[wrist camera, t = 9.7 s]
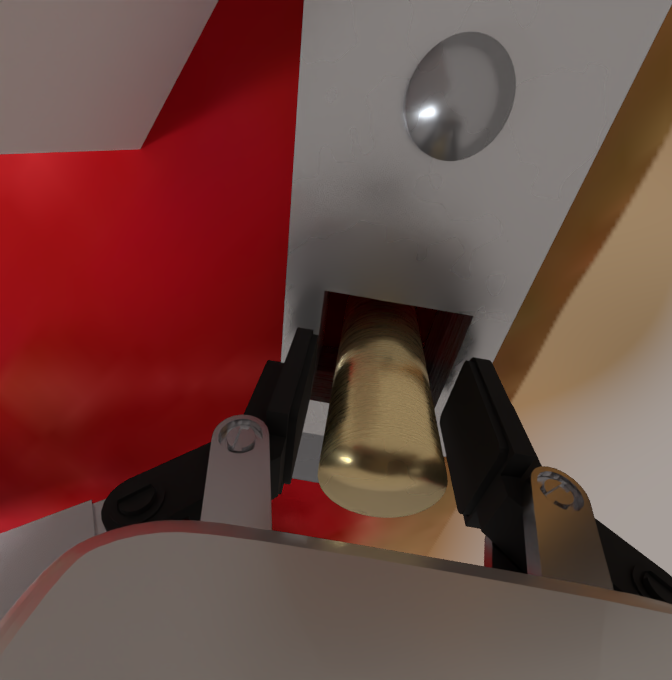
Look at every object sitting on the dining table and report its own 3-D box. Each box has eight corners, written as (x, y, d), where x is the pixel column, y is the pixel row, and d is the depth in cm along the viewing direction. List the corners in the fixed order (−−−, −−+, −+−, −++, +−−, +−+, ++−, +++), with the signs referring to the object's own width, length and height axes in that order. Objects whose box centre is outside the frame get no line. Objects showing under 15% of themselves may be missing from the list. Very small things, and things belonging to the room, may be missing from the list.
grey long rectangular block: (403, 468, 22) (408, 543, 18) (287, 448, 22) (268, 518, 18) (590, 4, 10) (726, -66, 6) (332, -39, 10) (305, -136, 6)
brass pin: (390, 349, 17) (399, 530, 10) (333, 320, 17) (297, 489, 9) (428, 300, 15) (476, 472, 8) (368, 266, 15) (357, 417, 7)
